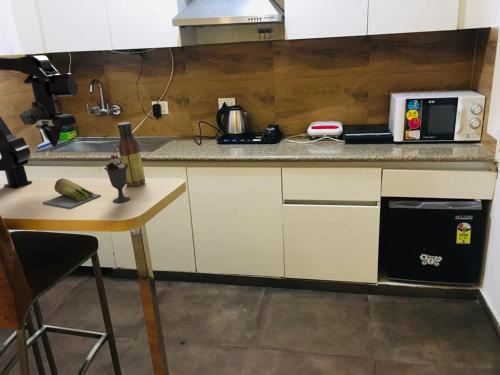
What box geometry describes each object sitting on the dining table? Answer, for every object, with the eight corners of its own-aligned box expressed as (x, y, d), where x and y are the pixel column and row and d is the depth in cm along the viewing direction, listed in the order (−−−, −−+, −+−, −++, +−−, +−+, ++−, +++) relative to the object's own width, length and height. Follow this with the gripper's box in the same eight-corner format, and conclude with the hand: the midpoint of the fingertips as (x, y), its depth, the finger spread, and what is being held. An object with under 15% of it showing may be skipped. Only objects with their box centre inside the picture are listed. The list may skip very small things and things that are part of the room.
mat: (42, 203, 125) (42, 202, 125) (73, 191, 134) (73, 190, 134) (70, 208, 119) (70, 207, 119) (100, 196, 128) (100, 194, 128)
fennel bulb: (71, 179, 133) (96, 191, 127) (65, 193, 133) (90, 207, 127) (55, 175, 128) (80, 188, 122) (49, 190, 128) (74, 204, 122)
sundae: (126, 194, 128) (118, 145, 123) (137, 199, 123) (130, 148, 118) (105, 201, 124) (96, 150, 119) (116, 206, 119) (107, 153, 114)
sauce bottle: (147, 180, 140) (138, 120, 134) (143, 186, 134) (134, 124, 128) (127, 182, 140) (117, 121, 134) (122, 188, 134) (112, 125, 128)
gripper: (1, 100, 131) (13, 150, 136) (40, 101, 123) (52, 153, 127) (34, 96, 141) (44, 142, 145) (72, 96, 132) (82, 145, 137)
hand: (54, 146), depth 139 cm, fingers closed
